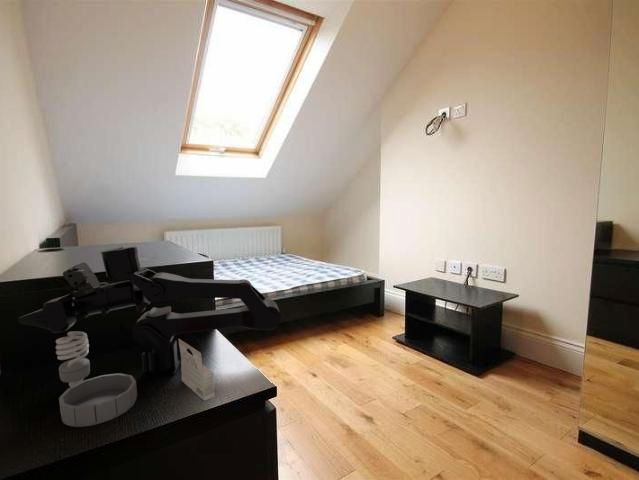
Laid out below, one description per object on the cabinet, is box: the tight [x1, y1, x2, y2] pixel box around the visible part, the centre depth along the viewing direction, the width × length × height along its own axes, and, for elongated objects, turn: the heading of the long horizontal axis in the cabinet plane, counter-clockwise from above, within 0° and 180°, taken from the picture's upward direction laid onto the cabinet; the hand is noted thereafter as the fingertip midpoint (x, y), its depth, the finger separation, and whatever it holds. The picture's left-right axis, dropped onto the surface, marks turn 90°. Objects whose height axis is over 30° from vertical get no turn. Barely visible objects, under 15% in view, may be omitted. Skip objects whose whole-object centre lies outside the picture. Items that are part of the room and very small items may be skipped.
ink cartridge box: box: [177, 338, 215, 402], centre depth 72 cm, size 2×11×10 cm, turn 43°
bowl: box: [58, 372, 138, 428], centre depth 67 cm, size 12×12×4 cm
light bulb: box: [55, 330, 91, 388], centre depth 73 cm, size 6×6×12 cm
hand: (32, 313), depth 74 cm, fingers open, 9 cm apart
